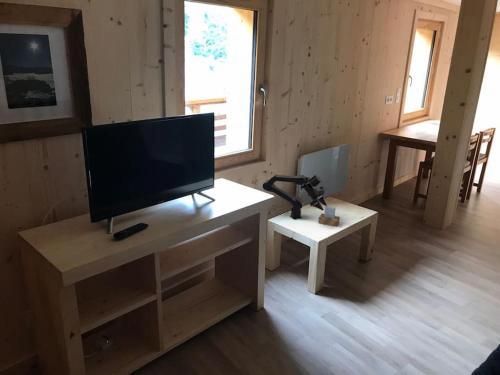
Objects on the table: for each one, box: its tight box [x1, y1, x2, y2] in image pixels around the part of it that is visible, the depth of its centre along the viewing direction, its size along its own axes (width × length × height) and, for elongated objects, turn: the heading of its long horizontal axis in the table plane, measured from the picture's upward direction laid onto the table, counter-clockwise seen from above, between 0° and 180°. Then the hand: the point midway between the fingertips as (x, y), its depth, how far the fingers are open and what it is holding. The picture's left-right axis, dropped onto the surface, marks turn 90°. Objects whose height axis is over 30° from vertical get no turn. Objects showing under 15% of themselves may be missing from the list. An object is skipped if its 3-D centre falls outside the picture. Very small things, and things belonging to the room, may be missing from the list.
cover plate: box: [323, 205, 336, 219], centre depth 285 cm, size 7×2×10 cm, turn 67°
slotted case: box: [318, 213, 341, 228], centre depth 287 cm, size 13×8×4 cm, turn 67°
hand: (324, 207), depth 286 cm, fingers open, 9 cm apart
